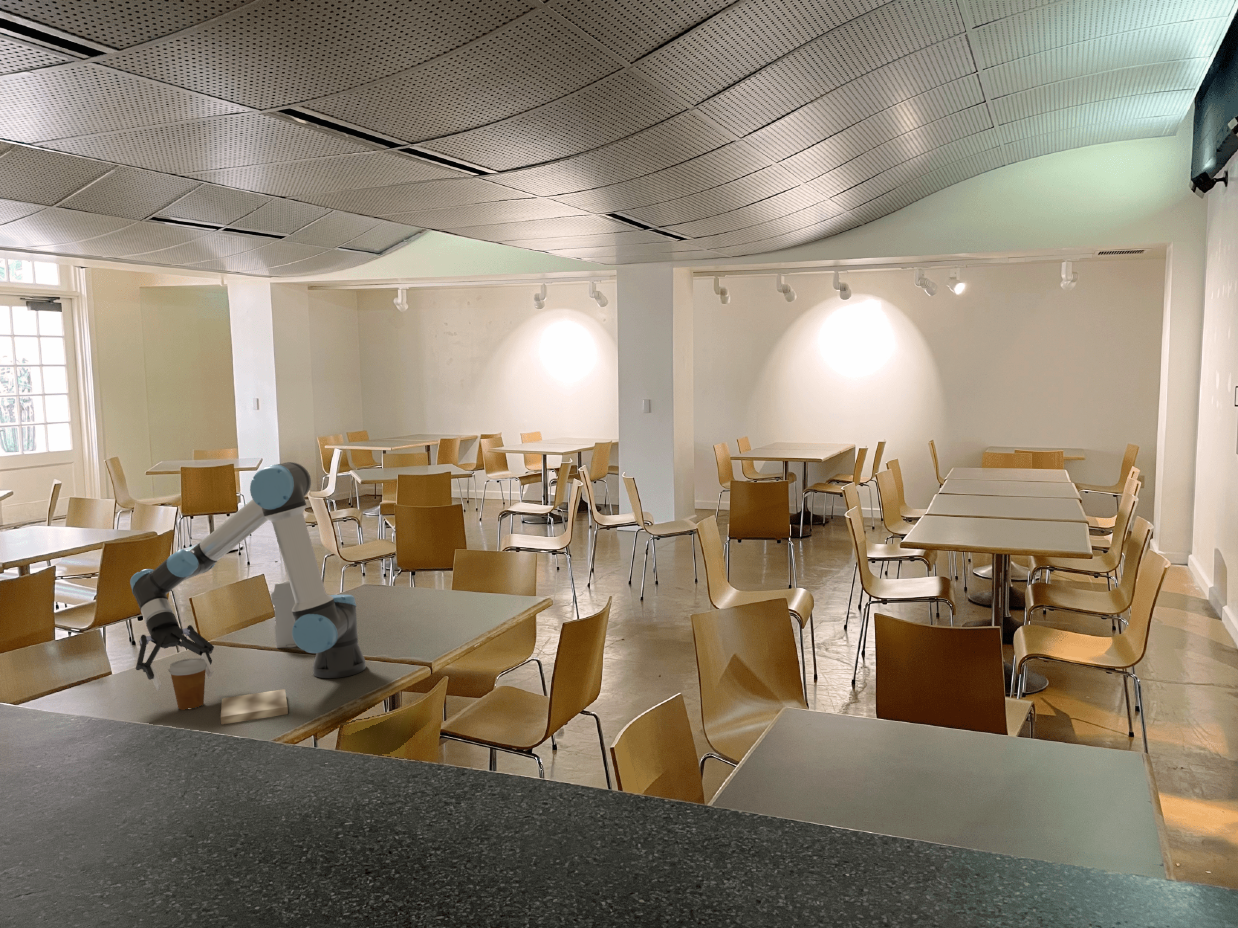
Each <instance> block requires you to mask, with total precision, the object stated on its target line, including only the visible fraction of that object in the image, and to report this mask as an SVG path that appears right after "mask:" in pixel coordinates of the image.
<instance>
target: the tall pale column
mask: <svg viewBox="0 0 1238 928" xmlns="http://www.w3.org/2000/svg"><path fill="white" fill-rule="evenodd" d="M270 599H271V604H272V605H273V609H274V610H273V611H274V619H275V620H274V621H275V624H274V639H275V648H276V649H284V648H296V647H298V646H297V645H296V643H295V642H294V640H293V637H292V629H293V626H294V623H295V620H294V617H293V613H292V608H293V607H294V605H295V600H294V596H293V593H292V589H291V586H290V582H289V580H285V581H282V582H278V583H274V588H273V592H271V593H270Z"/></svg>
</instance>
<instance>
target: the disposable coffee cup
mask: <svg viewBox="0 0 1238 928" xmlns="http://www.w3.org/2000/svg"><path fill="white" fill-rule="evenodd" d="M206 667H207V663H206V662H205V660H204V659H202V658H201V657H200V658H199V657H198V658H197V657H194V658H192V657H191V658H184V659H181V660H176V661H174V662H172V663H171V664H170V665H169V668H168V673H169V674H170V676H171V681H172V682H171V683H172V686H173V690H174V695H175V699H176V704H177V708H179V710H182V711H186V710H185V709H188V708H195V707H198V708H200V707H199V706H201V705H202V706H204V704H205V703H204V701H205V686H206ZM202 706H201V707H202ZM195 709H196V708H195Z"/></svg>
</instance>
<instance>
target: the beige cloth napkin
mask: <svg viewBox="0 0 1238 928" xmlns="http://www.w3.org/2000/svg"><path fill="white" fill-rule="evenodd" d="M220 707H221V708H220V710H221V711H220V723H221V726H222V725H227V724H233V723H241V722H247V721H253V720H259V719H266V718H273V717H278V716H284V715H289V712H288V709H289V708H288V701H287V694H286V689H285V688H283V689H277V690H270V691H263V692H256V693H255V692H254V693H248V694H243V695H236V696H235V695H234V696H231V697H230V696H229V697H224V698H223V697H222V698H221V706H220Z"/></svg>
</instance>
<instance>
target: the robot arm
mask: <svg viewBox="0 0 1238 928" xmlns="http://www.w3.org/2000/svg"><path fill="white" fill-rule="evenodd" d="M311 486H312V479H311V475H310V472H308V469H306V467H305V466H303V465H302V464H299V463H297V462H294V461H293V462H292V461H291V462H290V461H288V462H283V463H276V464H272V465H271V464H270V465H268V466H265V467H263V468H261V469H260V470H258V471H257V472H256V473H255V474H254V476H253V477H252V479H251V481H250V486H249V491H250V492H249V493H250V497H251V498H252V499H251V500H250V501H249V502H247V503H246V504H245V505H244V506H243V507H241V508H240V509H238V510H237V511H236V512H235V513H234V514H232V515H231V516H230V517H229V518H228V519H226V520H225V521H224V522H223V523H222V524H221V525H219V526H218V527H217V528H216V529H215V530H213V531H212V532H211V533H210V534H209V535H207V536H206V537H205V538H203V539H202V540H200V542H199V543H198V544H196V545H194V547H193V548H191V549H190V550H187V549H184V548H180V549H178V550H177V551H176V552H174V553H172V554H171V555H169V556H168V558H167V559H165V560H164V561H163V562H162V563H161V564H159V565H158V566H157V567H156V568H155V569H153V568H152V569H151V568H145V569H142V570H140V571H137V572H136V573H134V574H133V575H132V576H131V578H130V579H129V584H130V588H131V592H132V595H133V596H134V599H135V601H136V603H137V605H138V608H139V610H140V613H141V616H142V618H143V620H144V623H145V625H146V629H147V631H148V632H149V633H148V634H149V635H146V634H142V635H141V636H140V638H139V640H138V643H139V646H140V648H139V652H138V656H137V661H136V664H135V670H136V671H141V670H142V672H143V673H145V674H146V676H147V680H151V681H152V682H153V685H154V688H155V690H156V691H160V690H161V688H162V681H161V678H160V677H159V673H158V671H157V669H156V666H155V664H154V663H153V662H154V660H155V658H156V657H157V655H158V653H159V651H160V649H161V648H162V649H165V650H166V649H168V648H174V647H177V646H178V647H181V648H182V647H184V648H185V649H187V650H189V651H191V652H193V653H194V654H196V655H199V656H200V658H202V659H204V660H205V662H206V663H207V667H206V672H205V675H207V678H211V677H212V676H213V673H214V670H213V667H212V664H213V663H212V662H213V659H212V657H211V655H210V654H212V653H213V651H214V649H215V645H213V644H212V643H211V642H209V641H208V640H207V639H205V637H204V636H202V635H201V634H200V633H198V632H197V631H196V630H195V629H194V627H193V625H192V624H191V625H190V624H189V625H188V626H187V627H185V628H183V629H182V628H181V627H180V625H179V622H178V620H177V618H176V617H177V616H176V615H175V613H174V610H173V608H172V606H171V602H170V601H169V598H168V595H167V594H169V593H170V592H171V591H173V590H174V589H175V588H176V587H178V585H180V584H182V582H184V581H186V580H189V579H192V578H194V577H196V576H199V575H201V574H205V573H207V572H209V571H210V570H212V569H213V567H215V565H216V563H218V561H219V560H221V559H222V558H223V557H224V556H226V555H227V554H228V553H229V552H231V551H232V550H233V549H235V547H236V546H238V545H239V544H241V542H242V541H244V540H245V539H246V538H247V537H249V536H250V535H251V534H253V533H254V532H255V531H256V530H258V529H259V528H260V527H261V526H263V525H264V524H265V523H267V522H268V521H270V522H271V523H272V526H273V531H274V534H275V537H276V541H277V545H278V548H279V551H280V554H281V559H282V561H283V564H284V568H285V572H286V575H287V578H288V581H289V582H290V586H291V589H292V593H293V596H294V600H295V605H294V607H293V608H292V613H293V617H294V620H295V623H294V626H293V629H292V637H293V640H294V642H295V643H296V645H297V646H296V647H298V648H299V649H300V650H302V651H305V652H306V653H309V654H315V657H314V659H313V660H314V661H313V666H312V674H313V676H314V677H316V678H320V679H321V678H322V679H338V678H345V677H346V678H347V677H350V676H354V675H357V674H360V673H361V672H363V671H365V669H366V667H367V666H366V659H365V657H364V655H363V652H362V650H361V649H362V648H361V647H360V645H359V637H358V620H357V604H356V598H355V596H354V595H352V594H328V593H327V592H326V590H325V584H324V582H323V577H322V575H321V571H320V567H319V564H318V560H317V558H316V554H315V551H314V546H313V544H312V540H311V537H310V533H309V530H308V526H307V523H306V522H307V521H306V519H305V516H304V512H305V510H306V508H307V502H306V499H305V497H306V496H307V495H308V493H309V492H310V489H311ZM187 637H188V638H187ZM150 642H152V643H153V644H155V646H154V647H153V649H152V651H151V653H150V654H149V656H148V658H147V659H146V662H144V659H145V658H144V657H145V654H146V651H147V650H146V648H147V645H149V643H150ZM152 663H153V664H152Z"/></svg>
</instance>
